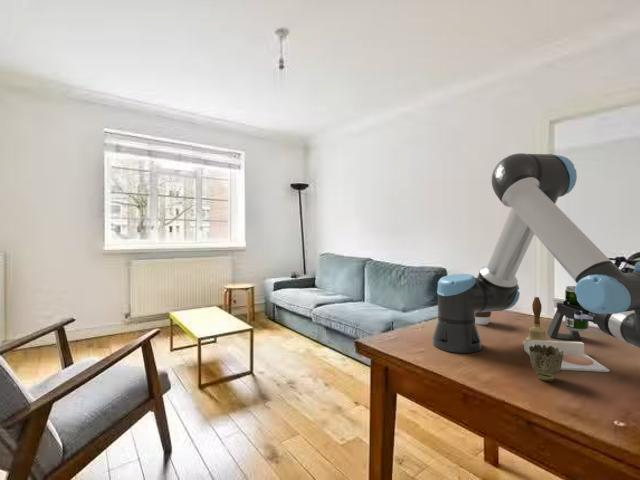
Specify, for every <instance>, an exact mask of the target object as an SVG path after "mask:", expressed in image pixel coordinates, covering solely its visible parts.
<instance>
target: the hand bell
mask: <svg viewBox="0 0 640 480" xmlns="http://www.w3.org/2000/svg"><path fill="white" fill-rule="evenodd" d="M531 306H532V312H533V316H534V320H533V324H534V325H533V326H532V327H529V331H528V335H527V338H525V340H545V341H549V340H548V337H547V331H546V330H545V329H544V328H543V327H541V318H540V317H541V313H542V310H543V309H542V302H541V300H540V297H539V296H534V298H533V301H532V305H531ZM522 344H523V345H524V341H523V342H522Z"/></svg>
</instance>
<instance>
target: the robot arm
mask: <svg viewBox="0 0 640 480" xmlns="http://www.w3.org/2000/svg"><path fill="white" fill-rule="evenodd" d="M577 179H578V174H577V169H576V168H575V165H574V163H573V162H572V160H571V159H569V158H568V157H566V156H563V155H560V154H552V153H521V152H520V153H513V154H510V155H507V156H505V157H504V158H503V159H501V160H499V162H498V163H497V164H496V166H495V168H494V169H493V172H492V173H491V186H492V189H493V192H494V194H495V196H496V197H497V198H498V199H499V201H500V202H501V203H502V205H504V206H505V207H507V208H510V210H509V212H508V215H507V218H506V220H505V222H504V224H503V227H502V230H501V232H500V235H499V237H498V239H497V241H496V244H495V246H494V249H493V252H492V254H491V256H490V259H489V261H488V263H487V265H485V266H482V267H481V268H480V269H479V273H478V275H477V277H475V276H474V275H473V274H469V273H459V274H458V273H455V274H449V275H444V276H442V277H441V278H440V279H439V280H438V281H437V290H436V292H437V323H436V326H435V330H434V331H433V334H432V345H433V346H434V347H436V348H437V349H440V350H442V351H445V352H450V353H456V354H457V353H458V354H469V353H476V352H478V351H480V350H481V349H482V339H481V337H480V334H479V331H478V328H477V326H476V325H477V324H475V313H479V312H491V313H492V312H501V311H505V310H509V309H511V308H513V307H514V306H516V304H517V303H518V301H519V299H520V291H519V290H520V287H519V283H518V282H519V281H518V278H517V277H516V274H517V272H518V270H519V268H520V266H521V264H522V261H523V259H524V257H525V255H526V253H527V251H528V249H529V247H530V244H531V242H532V240H533V237H534V236H536V238H537V239H538V240H539V241H540V242H541V244H542V245H544V247H545V248H546V249H547V250H548V251H549V253H550V254H551V255H552V256H553V258H555V260H556V261H557V262H558V263H559V264H560V265H561V267H562V268H563V269H564V270H565V271H566V272H567V273H568V275H569V276H570V277H571V278H572V279H573V281H574V282H575V283H576V285H575V286H576V287H575V294H576V296H577V301H578V302H579V304H580V305H581V306H582V307H579V306H575V305H571V304H569V302H568V301H565V300H563V299H559V298H557V297H554V298H553V307H554V308H555V309H557V308H558V313H560V314H562V315H564V316H567V317H569V318H572V319H574V320H575V321H577V322H581V321H582V319H585V320H586V321H589V322H590V323H593V324H595V325H597V327H598V328H599V329H600V331H602V332H603V333H604V334H606V335H609V336H611V337H613V338H616V339H619V340H621V341H623V342H625V343H627V344H630V346H632V347H637V348H639V349H640V260H639V261H637V262H636V263H635V264H634V270H633V272H623V271H622V270H621V269H620V268H619V267H618V266H617V265H616V264H614V262H612V260H611V259H610V258H608V256H607V255H606V254H605V253H604V252H603V251H602V250H601V249H600V248H599V247H598V246H597V245H596V244H595V243H594V242H593V241H592V240H591V239H590V238H589V237H588V236H587V235H586V234H585V233H584V232H583V231H582V230H581V229H580V228H579V227H578V226H577V224H576V223H574V222H573V221H572V220H571V219H570V217H568V215H567V214H565V212H563V210H562V209H561V208H559V206H558V205H556V202H557V201H558V199H559V198H560V197H564V196H566V195H567V194H570V193H571V192H572V190H573V189H574V188H575V185H576V182H577Z"/></svg>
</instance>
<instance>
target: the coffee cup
mask: <svg viewBox="0 0 640 480" xmlns="http://www.w3.org/2000/svg"><path fill="white" fill-rule="evenodd" d="M491 315H492V311H491V312H479V313H475V324H476V325H479V326H482V325H483V326H485V325H488V324H489V322H490V318H491Z"/></svg>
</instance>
